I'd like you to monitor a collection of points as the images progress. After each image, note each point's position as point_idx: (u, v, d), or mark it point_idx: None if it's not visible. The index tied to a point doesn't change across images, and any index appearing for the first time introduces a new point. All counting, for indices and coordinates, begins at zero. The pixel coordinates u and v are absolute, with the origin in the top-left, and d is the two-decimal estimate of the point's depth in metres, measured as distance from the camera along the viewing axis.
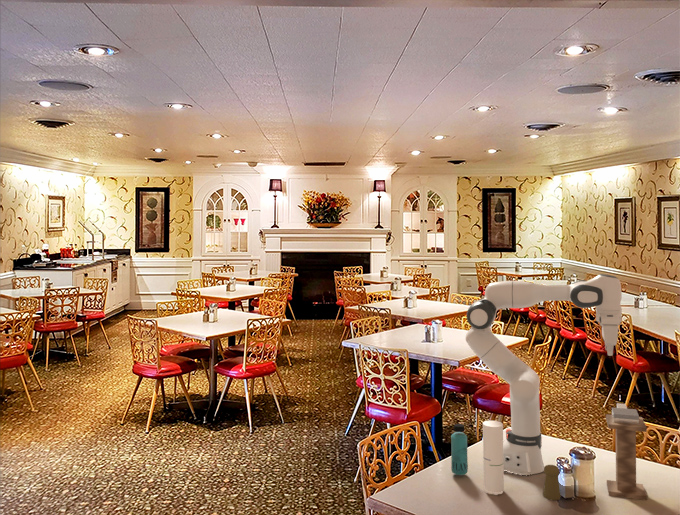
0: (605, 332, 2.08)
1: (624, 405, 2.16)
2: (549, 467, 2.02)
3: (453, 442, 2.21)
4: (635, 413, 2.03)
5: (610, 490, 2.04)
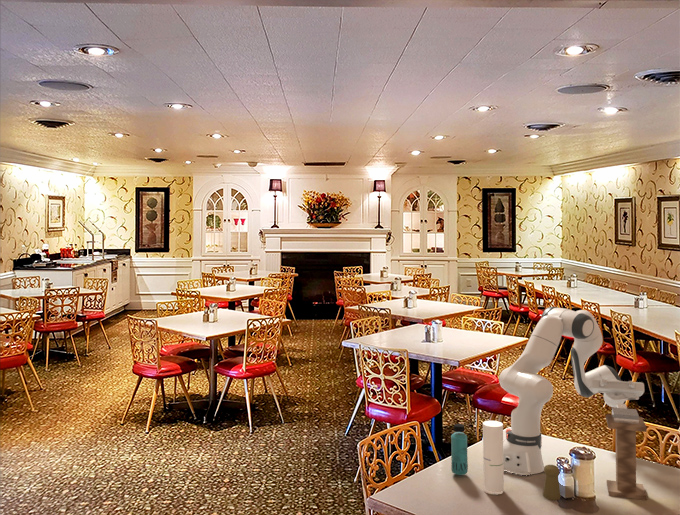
0: None
1: (624, 405, 2.16)
2: (549, 467, 2.02)
3: (453, 442, 2.21)
4: (635, 413, 2.03)
5: (610, 490, 2.04)
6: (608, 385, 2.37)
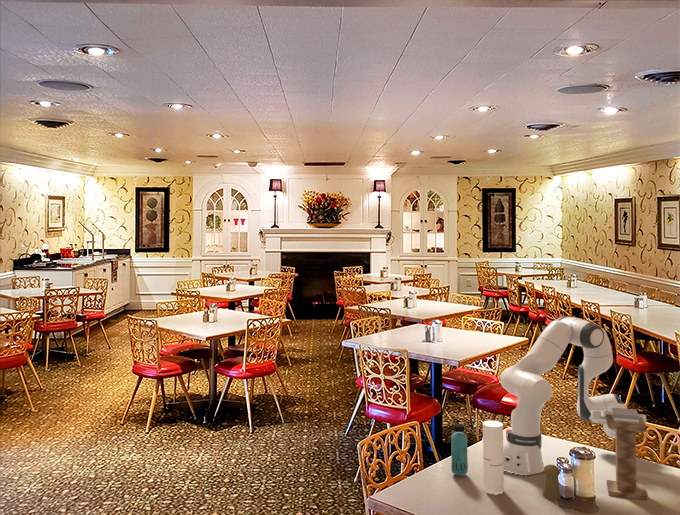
0: None
1: (624, 405, 2.16)
2: (549, 467, 2.02)
3: (453, 442, 2.21)
4: (635, 413, 2.03)
5: (610, 490, 2.04)
6: None
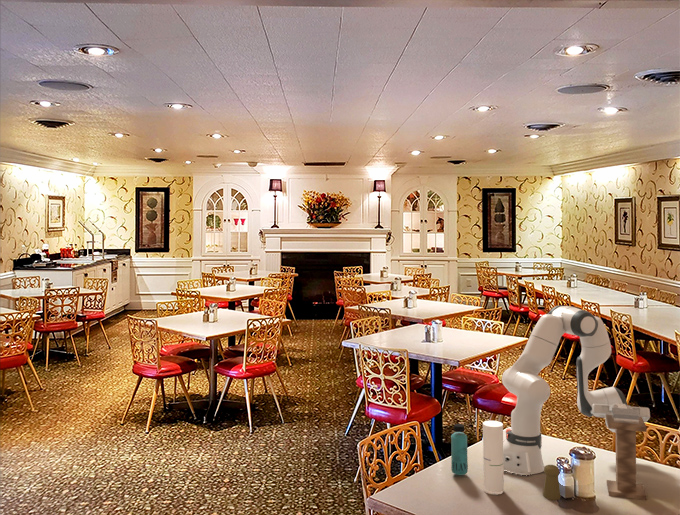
0: None
1: (624, 405, 2.16)
2: (549, 467, 2.02)
3: (453, 442, 2.21)
4: (635, 413, 2.03)
5: (610, 490, 2.04)
6: (611, 410, 2.22)
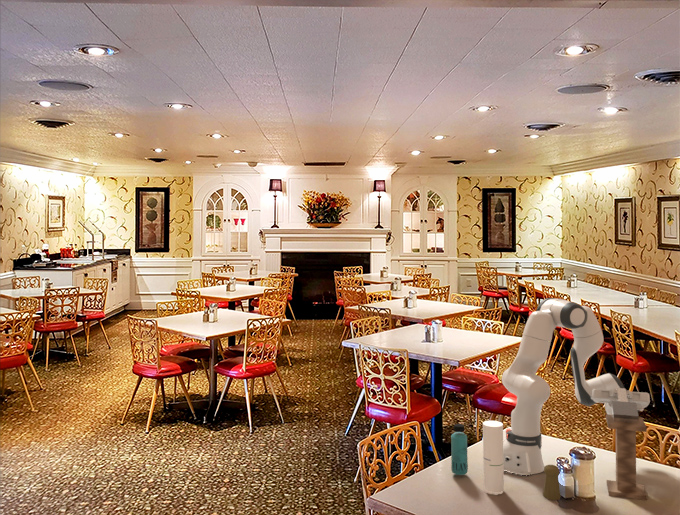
0: None
1: (624, 391, 2.16)
2: (549, 467, 2.02)
3: (453, 442, 2.21)
4: (635, 411, 2.03)
5: (610, 490, 2.04)
6: None
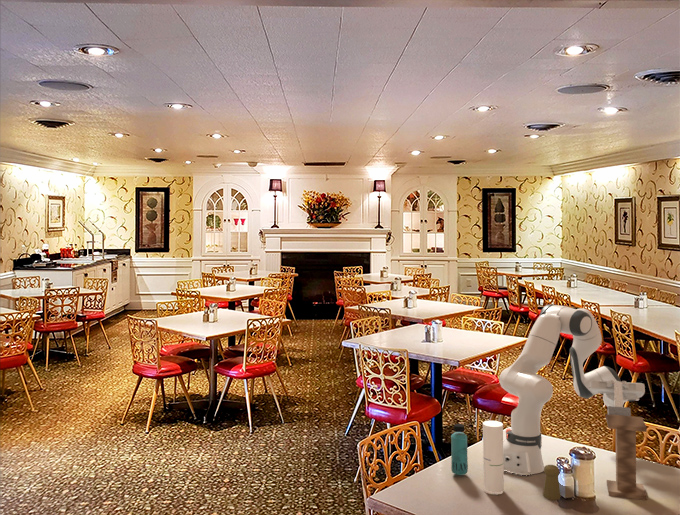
0: None
1: (620, 387, 2.29)
2: (549, 467, 2.02)
3: (453, 442, 2.21)
4: None
5: (610, 490, 2.04)
6: None
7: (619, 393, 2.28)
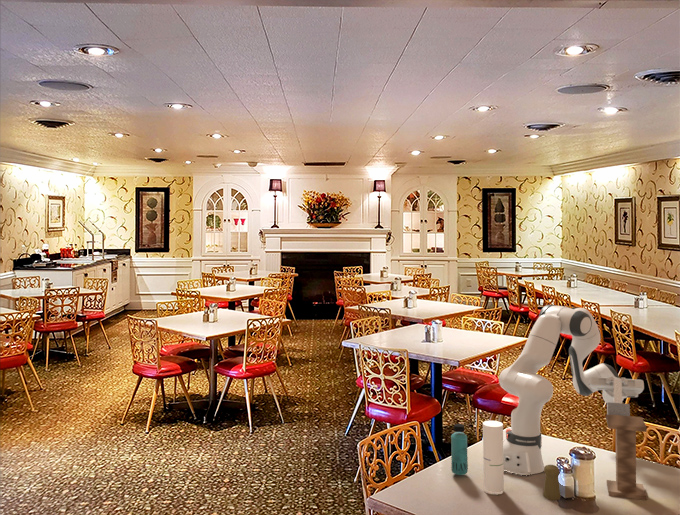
0: None
1: (620, 384, 2.31)
2: (549, 467, 2.02)
3: (453, 442, 2.21)
4: None
5: (610, 490, 2.04)
6: None
7: (618, 389, 2.30)
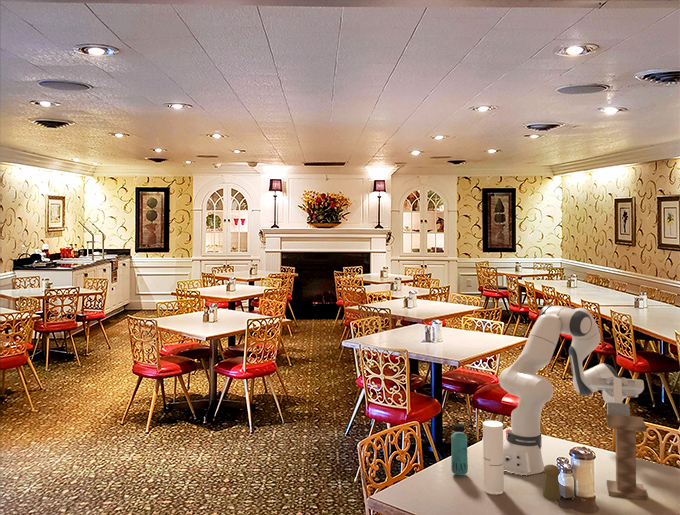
0: None
1: (620, 384, 2.31)
2: (549, 467, 2.02)
3: (453, 442, 2.21)
4: None
5: (610, 490, 2.04)
6: None
7: (618, 389, 2.30)
